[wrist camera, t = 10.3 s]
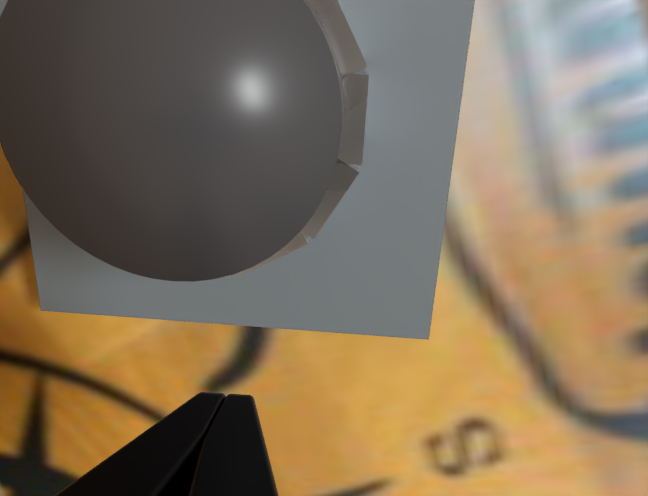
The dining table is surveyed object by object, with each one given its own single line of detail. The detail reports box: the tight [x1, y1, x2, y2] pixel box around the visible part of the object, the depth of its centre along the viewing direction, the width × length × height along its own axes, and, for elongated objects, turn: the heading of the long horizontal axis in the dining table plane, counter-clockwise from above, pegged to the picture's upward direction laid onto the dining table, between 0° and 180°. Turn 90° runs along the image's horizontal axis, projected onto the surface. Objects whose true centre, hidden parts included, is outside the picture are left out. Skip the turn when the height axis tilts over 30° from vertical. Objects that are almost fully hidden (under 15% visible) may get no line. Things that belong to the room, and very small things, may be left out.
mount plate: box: [0, 0, 475, 340], centre depth 17 cm, size 16×14×2 cm
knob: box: [0, 0, 344, 282], centre depth 13 cm, size 7×7×5 cm
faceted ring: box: [225, 0, 369, 278], centre depth 15 cm, size 8×8×4 cm
